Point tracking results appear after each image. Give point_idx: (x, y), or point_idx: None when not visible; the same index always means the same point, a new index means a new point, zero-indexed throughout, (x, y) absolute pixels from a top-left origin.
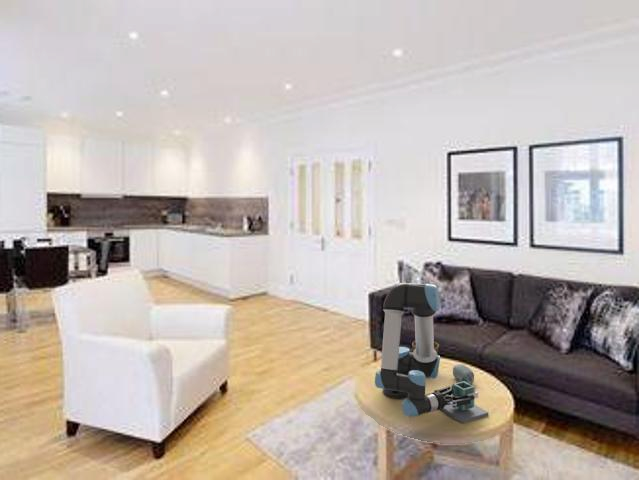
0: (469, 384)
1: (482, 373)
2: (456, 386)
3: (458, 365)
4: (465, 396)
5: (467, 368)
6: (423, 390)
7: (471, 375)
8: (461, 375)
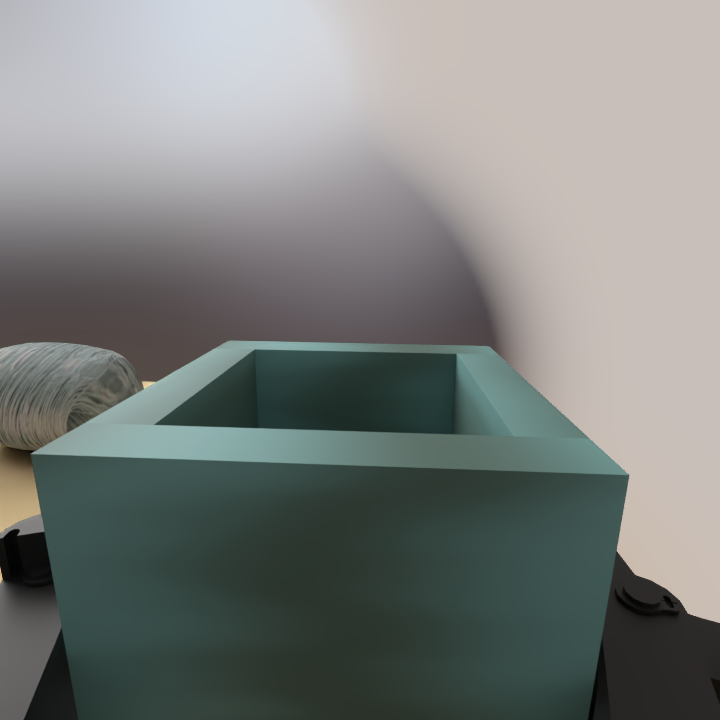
0: (374, 346)
1: (145, 382)
2: (233, 479)
3: (5, 350)
4: (663, 655)
5: (85, 346)
6: None
7: (130, 378)
8: (54, 399)
